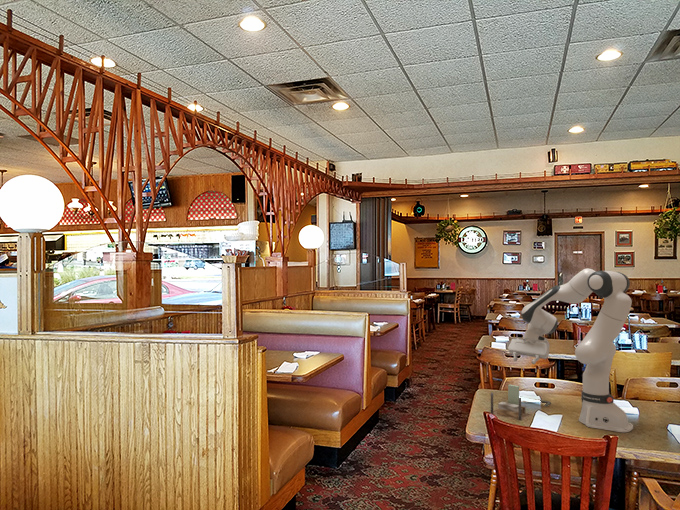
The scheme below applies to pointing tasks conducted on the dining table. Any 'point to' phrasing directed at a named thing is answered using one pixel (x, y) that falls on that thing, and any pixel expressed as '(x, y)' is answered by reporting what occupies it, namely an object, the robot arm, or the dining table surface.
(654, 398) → the dining table surface
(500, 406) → the offcut upper
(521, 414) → the rack
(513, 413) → the offcut lower
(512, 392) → the grey-green rectangular block
